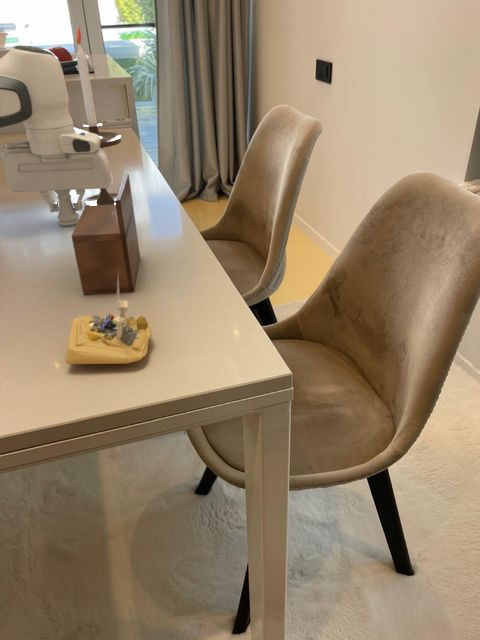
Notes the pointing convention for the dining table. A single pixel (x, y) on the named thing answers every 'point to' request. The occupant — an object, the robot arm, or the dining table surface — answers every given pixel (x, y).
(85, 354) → the cake
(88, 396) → the dining table surface
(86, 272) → the wooden box with backrest
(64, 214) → the rook chess piece
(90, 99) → the candlestick
